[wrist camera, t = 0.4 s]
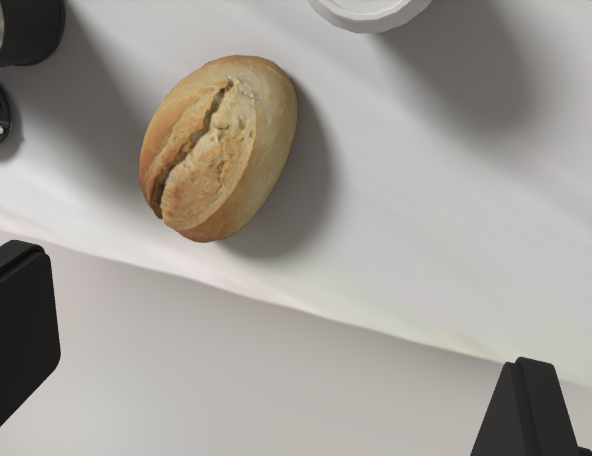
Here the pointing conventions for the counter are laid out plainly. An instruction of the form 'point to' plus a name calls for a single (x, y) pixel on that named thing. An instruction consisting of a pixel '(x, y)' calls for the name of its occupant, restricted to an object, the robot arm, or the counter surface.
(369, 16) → the can
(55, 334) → the robot arm
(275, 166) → the bread roll
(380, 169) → the counter surface
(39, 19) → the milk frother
